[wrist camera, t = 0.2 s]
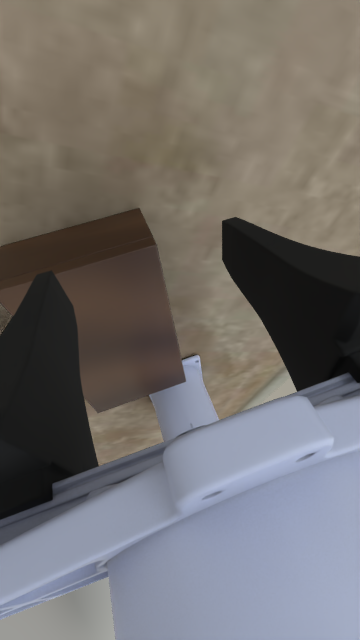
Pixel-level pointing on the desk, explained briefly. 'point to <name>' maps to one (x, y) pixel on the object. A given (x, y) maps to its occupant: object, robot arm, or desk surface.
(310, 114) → the desk surface
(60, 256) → the rack
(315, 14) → the desk surface
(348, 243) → the desk surface
